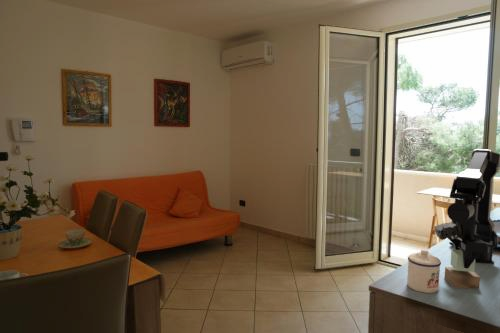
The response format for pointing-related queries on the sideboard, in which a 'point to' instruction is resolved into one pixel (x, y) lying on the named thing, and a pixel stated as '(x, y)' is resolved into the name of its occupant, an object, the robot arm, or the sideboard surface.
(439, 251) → the sideboard surface
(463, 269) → the green cube
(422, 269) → the teacup with lid
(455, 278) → the walnut block
